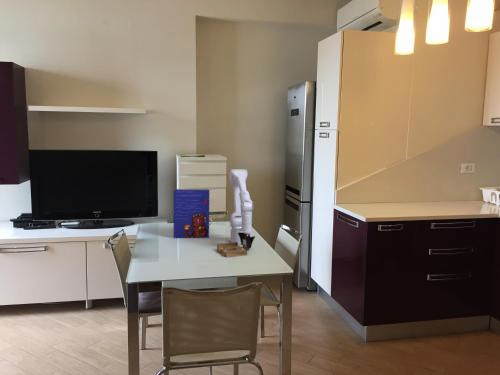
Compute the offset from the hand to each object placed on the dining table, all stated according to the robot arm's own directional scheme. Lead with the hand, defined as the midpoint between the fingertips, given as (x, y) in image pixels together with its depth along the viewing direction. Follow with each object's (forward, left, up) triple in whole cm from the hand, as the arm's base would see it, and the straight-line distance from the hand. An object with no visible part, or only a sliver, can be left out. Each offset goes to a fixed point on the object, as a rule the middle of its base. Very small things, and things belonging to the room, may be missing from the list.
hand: (246, 246), depth 248 cm
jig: (+3, -10, -2) cm, 11 cm away
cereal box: (-39, -20, -2) cm, 44 cm away
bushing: (0, 0, -2) cm, 2 cm away
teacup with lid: (-56, -6, -2) cm, 56 cm away
